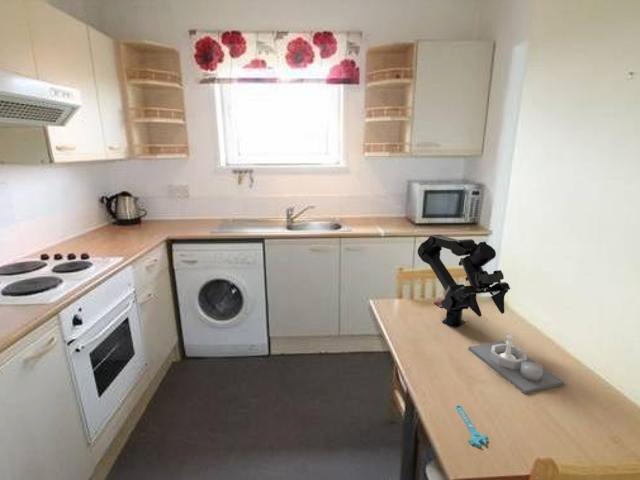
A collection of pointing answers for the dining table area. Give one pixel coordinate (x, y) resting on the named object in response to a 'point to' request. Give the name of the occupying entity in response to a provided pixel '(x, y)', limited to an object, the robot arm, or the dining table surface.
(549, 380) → the carrier plate
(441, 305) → the snack package
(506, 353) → the chess piece
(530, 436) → the dining table surface
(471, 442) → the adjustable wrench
